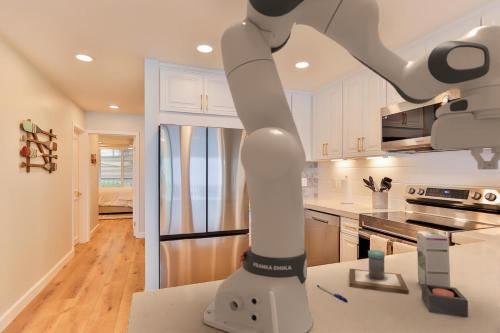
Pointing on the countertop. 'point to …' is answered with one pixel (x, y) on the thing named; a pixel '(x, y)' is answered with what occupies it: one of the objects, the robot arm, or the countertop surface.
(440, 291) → the button
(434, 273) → the syrup box
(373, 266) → the grey and teal cylinder
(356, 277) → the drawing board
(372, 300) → the countertop surface
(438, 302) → the button housing
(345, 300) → the ballpoint pen
